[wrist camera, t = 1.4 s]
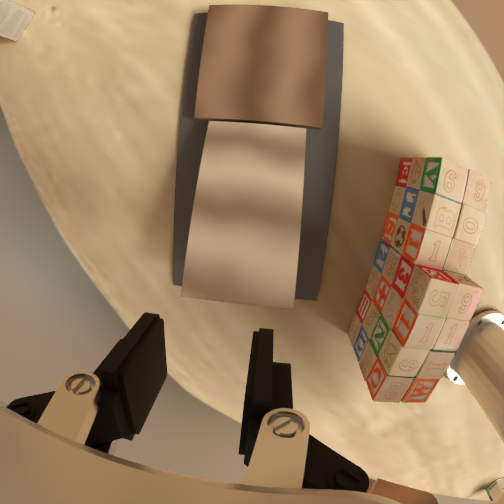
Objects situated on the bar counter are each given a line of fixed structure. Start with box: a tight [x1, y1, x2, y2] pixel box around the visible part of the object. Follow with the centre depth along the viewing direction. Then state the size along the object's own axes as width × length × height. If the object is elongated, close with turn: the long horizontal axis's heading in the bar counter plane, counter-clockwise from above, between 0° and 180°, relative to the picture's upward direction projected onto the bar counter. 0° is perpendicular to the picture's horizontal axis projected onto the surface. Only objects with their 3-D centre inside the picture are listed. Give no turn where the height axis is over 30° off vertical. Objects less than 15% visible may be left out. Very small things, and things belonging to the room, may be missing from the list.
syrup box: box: [486, 477, 504, 502], centre depth 41 cm, size 6×6×14 cm
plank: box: [181, 121, 306, 309], centre depth 26 cm, size 16×9×2 cm, turn 176°
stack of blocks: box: [348, 157, 491, 403], centre depth 25 cm, size 21×6×12 cm, turn 169°
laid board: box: [194, 5, 328, 130], centre depth 25 cm, size 12×13×2 cm
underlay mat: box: [173, 13, 344, 300], centre depth 29 cm, size 16×31×1 cm, turn 175°
